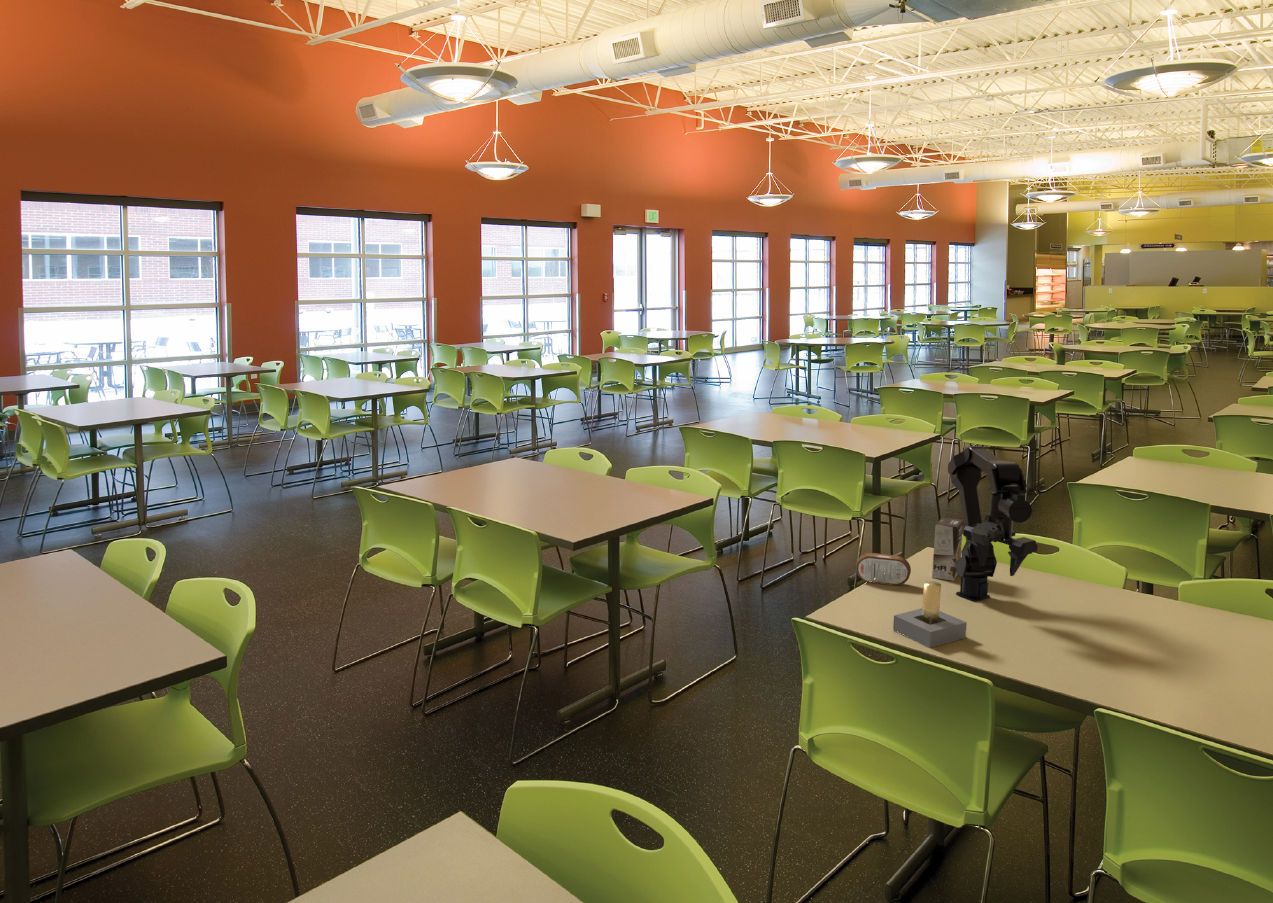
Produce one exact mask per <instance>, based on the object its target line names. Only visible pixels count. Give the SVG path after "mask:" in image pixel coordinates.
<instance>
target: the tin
mask: <svg viewBox="0 0 1273 903" xmlns="http://www.w3.org/2000/svg"><path fill="white" fill-rule="evenodd" d="M855 566H856V567H855V569H856V574H857V576H858V577H859V578H860V579H861V580H862V581H864V582H866V583H869V581H872V582H871V583H872V584H878V583H883V584H882V585H887V584H892V585H891V586H901V585H903V584H904V585H905V583H906V582H907V581H908V580H909V578H910V575H911V574H912V573H911V572H912V568H911V565H910V563H909V561H908V560H907V559H906V558H905V557H902V556H900V555H897V554H896V555H893V554H884V553H876V552H875V553H874V552H867V553H864V554H862V555H860V557H858V559H857V561H856V565H855ZM884 573H885V574H884ZM874 578H876V579H875V580H874ZM873 582H875V583H873ZM871 583H870V584H871ZM884 583H885V584H884Z"/></svg>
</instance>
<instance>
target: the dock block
mask: <svg viewBox="0 0 1273 903" xmlns="http://www.w3.org/2000/svg"><path fill="white" fill-rule="evenodd" d="M967 626H968V625H967V621H964V620H962V619H960V618H957V617H955V616H952V615H950V614H948V613H945V612H942V611H941V610H939V623H936V624H932V625H929V624H927V623H925V622H923V621H922V608H918V609H914V610H910V611H906V612H901V613H897V614H895V615H893V625H892V627H893V628H892V630H893V629H894V630H895V631H898V632H899V633H901V634H900V635H902V634H904V635H905V636H904V635H903V636H904V637H906V636H908V637H909V638H908V637H907V638H908V639H910V638H911V639H910V640H912V639H913V640H912V641H914V640H915V641H914V642H916V641H917V643H918V642H919V643H918V644H921V645H923V646H925V647H926V648H929V649H930V648H934V647H938V646H942V645H944V644H949V643H951V642H955V641H956V642H957V641H959V640H963V639H966V638H967V637H966V636H967ZM895 631H894V632H895ZM899 633H898V634H899Z"/></svg>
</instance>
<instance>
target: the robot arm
mask: <svg viewBox="0 0 1273 903" xmlns="http://www.w3.org/2000/svg"><path fill="white" fill-rule="evenodd" d="M947 472H948V474H949V477H950V481H951V484H953V486H954V487H955V488H956V489H957V490H958V493H959V501H960V508H961V514H962V520H963V533H962V537H965V544H964V546H962V547H963V548H961V558H960V559H959V561H958V562H957V564H956V572H957V573H958V575H959V576H960V591H955V595H957V596H960V597H962V598H965V599H967V600H970V601H972V602H977V601H980V600H985V599H989V598H991V595H990V594H988V591H989V582H988V580H989V579H988V578H989V577H990V578H993V577H994V576H995V575H994V574H995V572H996V568H997V563H998V561H997V558H996V555H995V550H994V544H993V543H1001V544H1005V545H1008V549H1009V551H1007V553H1008V556H1009V557H1010V560H1009V576H1010V577H1014V576H1015V575H1016V573H1017V572H1018V570H1019V568H1020V567H1021V565H1022V564H1023V562H1024V560H1025V559H1026V558H1027V556H1028V555H1031V554H1033V553H1036V552H1038V549H1039V545H1038V542H1037V541H1036V540H1035V539H1031V538H1028V537H1025V536H1022V537H1019V538H1018V537H1017V538H1013V537H1015V536H1016V531H1014V530H1013V525H1014V524H1013V523H1014V522H1015V523H1018V524H1019V523H1025V522H1026V521H1028V520H1029V519H1030V517H1031V516H1032V514H1033V508H1032V506H1031V503H1030V502H1028V501H1027V500H1025V499H1026V496H1025V494H1027V487H1028V485H1027V483H1026V479H1025V476H1024V474H1023V470H1022V468H1021V467H1020V465H1019V464H1018V463H1017V462H1013V461H1008V460H1002V459H1001V458H999V457H997V456H996V455H994V454H992V452H990V451H989V450H987V448H986V447H985V446H983V445H982V446H981V445H977V446H976V445H974V446H971V445H969V446H967V447H965V448H964V449H963V451H961V452H959V453H957V454H955V455H953V456H952V458H951V460H950V461H949V462H948V464H947ZM982 472H984V473H986V481H988V485H989V487H988V490H989V491H990V500H989V513H988V514H985V517H984V519H983V518H982V512H981V507H980V500H979V495H978V486H979V483H980V481H981V480H982ZM983 520H984V521H983Z"/></svg>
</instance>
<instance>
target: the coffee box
mask: <svg viewBox="0 0 1273 903" xmlns="http://www.w3.org/2000/svg"><path fill="white" fill-rule="evenodd" d="M963 531H964V523H963V519H958V518H952V517H951V518H947V517H941V518H940V519H939V520H938V522H936V523H935V527H934V540H933V541H934V543H933V557H932V568H931V569H932V572H931V578H935V579H940V580H946V581H950V580H951V582H954V581H955V579H956V578H957V577H958V575H959V574H958V573H957V572H956V564H957V562H958V561H959V559H960V558H961V557H962V553H961V551H962V549H963V548H962V547H963V544H962V543H963Z"/></svg>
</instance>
